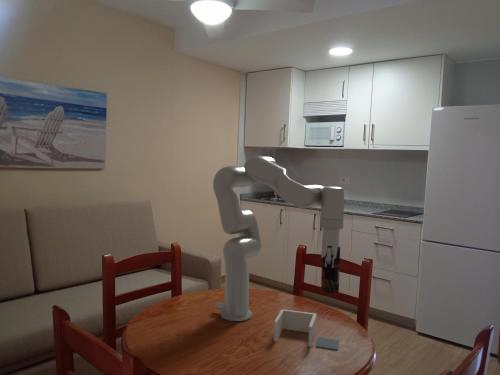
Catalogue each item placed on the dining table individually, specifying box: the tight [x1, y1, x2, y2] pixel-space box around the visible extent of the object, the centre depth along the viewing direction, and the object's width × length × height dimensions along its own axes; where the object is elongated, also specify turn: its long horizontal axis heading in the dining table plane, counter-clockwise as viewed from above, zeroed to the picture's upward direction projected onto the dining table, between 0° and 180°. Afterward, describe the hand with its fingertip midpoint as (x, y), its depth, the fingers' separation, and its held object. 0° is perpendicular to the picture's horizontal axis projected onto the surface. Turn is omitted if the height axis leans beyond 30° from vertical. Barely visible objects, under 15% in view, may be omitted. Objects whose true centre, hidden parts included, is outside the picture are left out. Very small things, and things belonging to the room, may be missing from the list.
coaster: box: [315, 336, 340, 351], centre depth 134 cm, size 7×7×1 cm
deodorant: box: [320, 246, 341, 294], centre depth 132 cm, size 6×6×15 cm
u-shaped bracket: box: [273, 308, 317, 348], centre depth 139 cm, size 13×12×7 cm
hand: (330, 275), depth 132 cm, fingers closed on deodorant, 5 cm apart
